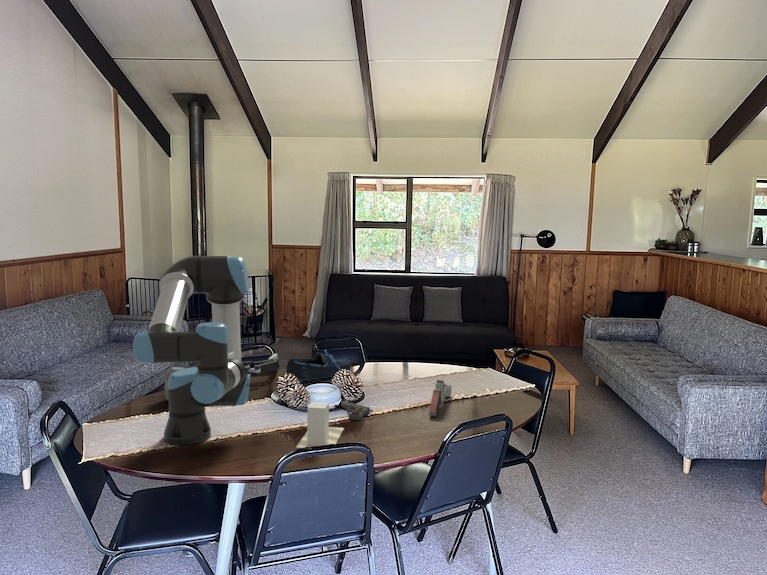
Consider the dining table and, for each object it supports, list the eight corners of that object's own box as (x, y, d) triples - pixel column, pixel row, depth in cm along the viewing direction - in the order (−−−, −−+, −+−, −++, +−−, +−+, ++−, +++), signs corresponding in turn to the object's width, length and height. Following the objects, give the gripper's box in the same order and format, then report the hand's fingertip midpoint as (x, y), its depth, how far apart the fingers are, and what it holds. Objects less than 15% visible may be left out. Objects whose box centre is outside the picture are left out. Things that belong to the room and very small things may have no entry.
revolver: (427, 415, 219) (431, 376, 222) (441, 420, 246) (444, 385, 249) (436, 416, 218) (440, 377, 221) (449, 421, 245) (453, 386, 248)
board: (332, 453, 184) (332, 437, 183) (295, 450, 185) (295, 435, 185) (344, 431, 204) (344, 416, 203) (311, 429, 205) (311, 415, 204)
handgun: (321, 412, 225) (340, 405, 235) (358, 422, 214) (377, 413, 224) (321, 405, 225) (340, 398, 234) (358, 414, 214) (377, 406, 224)
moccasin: (358, 374, 282) (358, 350, 280) (298, 386, 259) (298, 360, 258) (341, 368, 292) (341, 345, 291) (282, 379, 269) (282, 355, 268)
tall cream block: (324, 446, 187) (325, 408, 185) (307, 444, 187) (307, 407, 186) (328, 439, 192) (328, 402, 191) (311, 438, 193) (311, 401, 192)
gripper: (184, 386, 157) (215, 367, 178) (272, 390, 154) (294, 370, 175) (183, 359, 156) (215, 343, 177) (272, 363, 153) (294, 346, 174)
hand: (254, 356), depth 176 cm, fingers open, 13 cm apart
